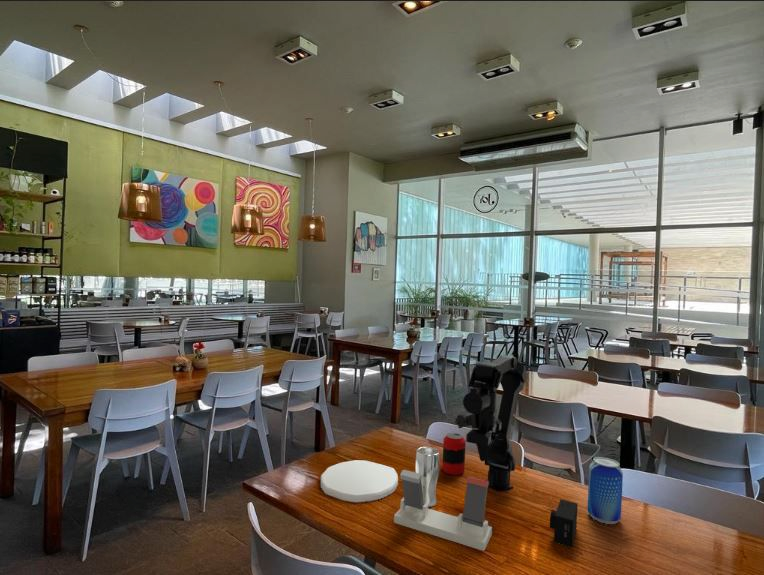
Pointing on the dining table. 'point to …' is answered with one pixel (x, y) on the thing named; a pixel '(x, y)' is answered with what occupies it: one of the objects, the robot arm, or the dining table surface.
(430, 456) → the beer glass
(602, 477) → the beer can
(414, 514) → the switch console
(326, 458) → the dining table surface
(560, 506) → the digital camera
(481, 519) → the red-capped switch paddle
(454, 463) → the soda can
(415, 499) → the grey lever
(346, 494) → the white flat disc
